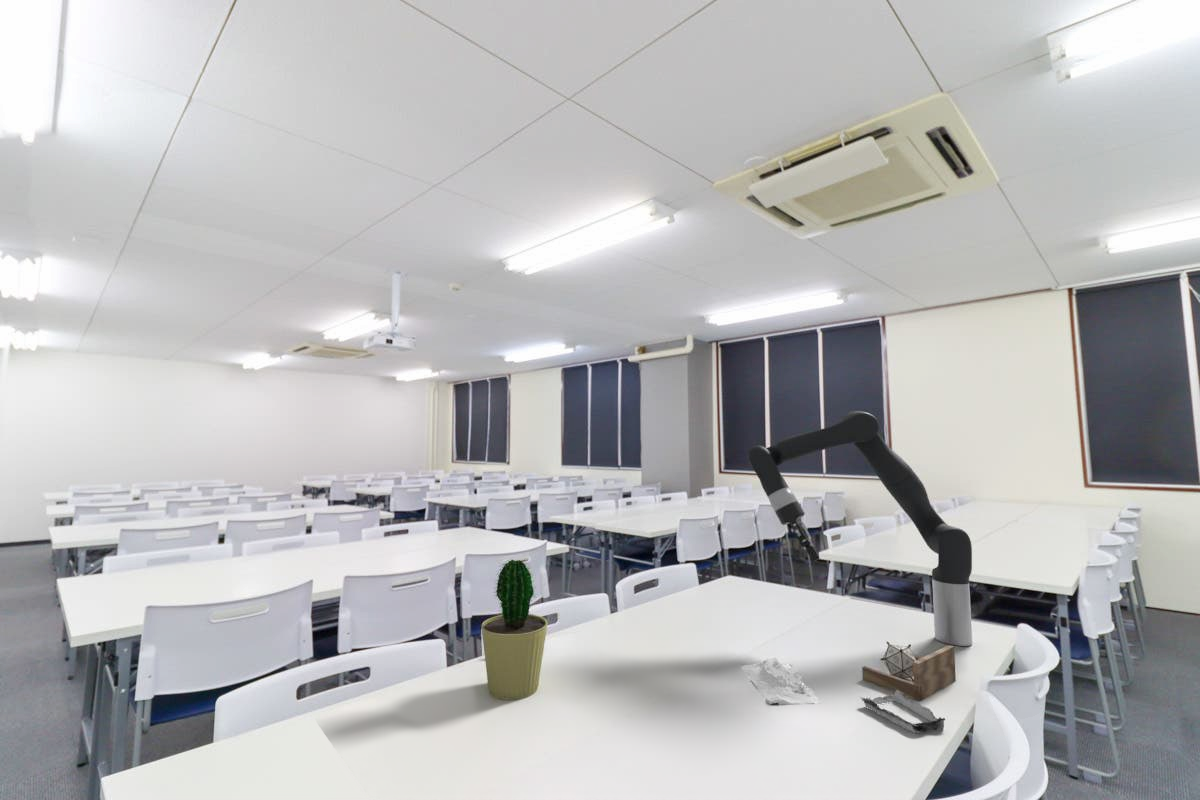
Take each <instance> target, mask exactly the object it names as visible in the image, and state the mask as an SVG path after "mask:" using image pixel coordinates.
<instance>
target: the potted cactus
mask: <svg viewBox="0 0 1200 800" xmlns="http://www.w3.org/2000/svg"><path fill="white" fill-rule="evenodd" d="M501 567H502V569H501V568H499V570H497V573H498V572H499V573H498V574H497V578H498V579H496V580H495V581H494V582H495V585H496V588H494V592H493V593H495V595H493V596H494V598H496V597H497V599H498V603H500V606H498V607H499V608H500V610H499V611H498V613H499V615H496V616H493V617H490V618H488V619H486V620H484V621H483V622H482V624H481V625H480V626H481V636H482V643H483V645H482V646H483V650H484V651H483V652H484V653H483V654H484V661H485V669H486V678H487V687H488V692H489V694H490V695H491V696H492V697H494V698H495V699H499V700H504V701H515V700H521V699H526V698H528V697H531V696H532V695H534V694H535V693H536V692H537V690H538V688H539V683H540V676H541V669H542V662H543V655H544V650H545V643H546V636H547V635H546V634H547V631H548V630H547V629H548V624H549V623H548V622H549V621H548V620H547V618H545V617H544V616H540V615H536V614H532V613H530V608H531V609H532V606H531V602H533V600H532V598H536V596H534V595H536V593H535V589H536V587H534V586H533V580H532V575H533V572H532V571H530V567H529V566H528V565H527V563H526V561H525V559H524V560H523V559H522V560H520V559H517V560H514V559H512V558H511V559H510V560H508V561H507V562H505V563H504V565H501ZM500 613H501V614H500Z"/></svg>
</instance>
